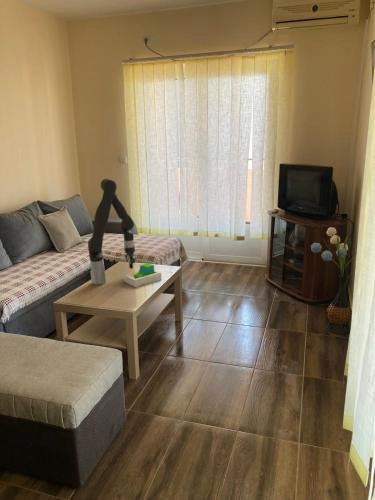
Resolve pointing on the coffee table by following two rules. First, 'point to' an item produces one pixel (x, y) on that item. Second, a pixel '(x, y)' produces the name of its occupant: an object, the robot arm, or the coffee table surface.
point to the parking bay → (143, 279)
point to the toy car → (144, 270)
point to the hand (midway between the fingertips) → (131, 268)
